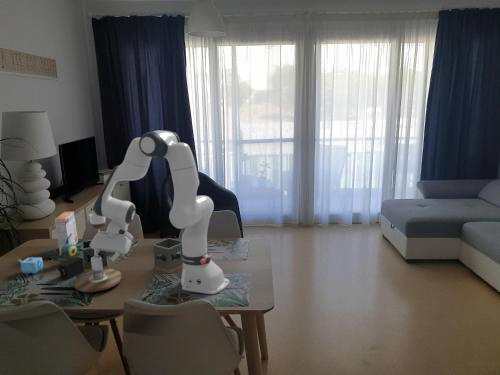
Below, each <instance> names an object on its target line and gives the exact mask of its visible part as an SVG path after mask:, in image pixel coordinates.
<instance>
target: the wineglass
mask: <svg viewBox="0 0 500 375" xmlns="http://www.w3.org/2000/svg"><path fill="white" fill-rule="evenodd" d="M88 218H89V222H90V226H92V228H94V229H97V231H98V232H100V231H101V230H100V229H101V228H103V227H104V226H105V224H106V217H103V216H98V215H96V213H95V212H91V213H89V214H88ZM98 232H97V233H98Z"/></svg>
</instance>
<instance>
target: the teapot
mask: <svg viewBox="0 0 500 375" xmlns="http://www.w3.org/2000/svg"><path fill="white" fill-rule="evenodd" d="M17 261H18V262H19V263H20V269H21V274H25V275H29V274H32V275H36V274H37V273H39V272H41V270H43V269H44V261H43V257H27V258H26V259H24V260H22V259H17Z"/></svg>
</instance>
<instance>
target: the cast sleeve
mask: <svg viewBox="0 0 500 375" xmlns="http://www.w3.org/2000/svg"><path fill="white" fill-rule="evenodd" d="M102 258H103V257H102V256H101V255H99V256H94V255H93V256H92V257H90V263H91V271H92V273H93V280H101V279H103V278H104V274H103V269H104V266H103V259H102Z"/></svg>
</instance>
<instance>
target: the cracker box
mask: <svg viewBox="0 0 500 375" xmlns="http://www.w3.org/2000/svg"><path fill="white" fill-rule="evenodd" d="M75 218H76V216H75V211H63V212H62V213H61V214H60V215H59V216H57V217H56V218H54V225H55V230H56V232H55V233H56V239H57V244H58V245H57V246H58V251H59V254H60V253H61V249H62V247H63V246H64V245H65V244H66V240H67V238H68V237H69V235H70V234H72V235H71V236H70V237H69V239H68V242H69V244H72V245H75V244H76V243H77V242H78V241H79V239H78V233H77V225H76V220H75Z"/></svg>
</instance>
